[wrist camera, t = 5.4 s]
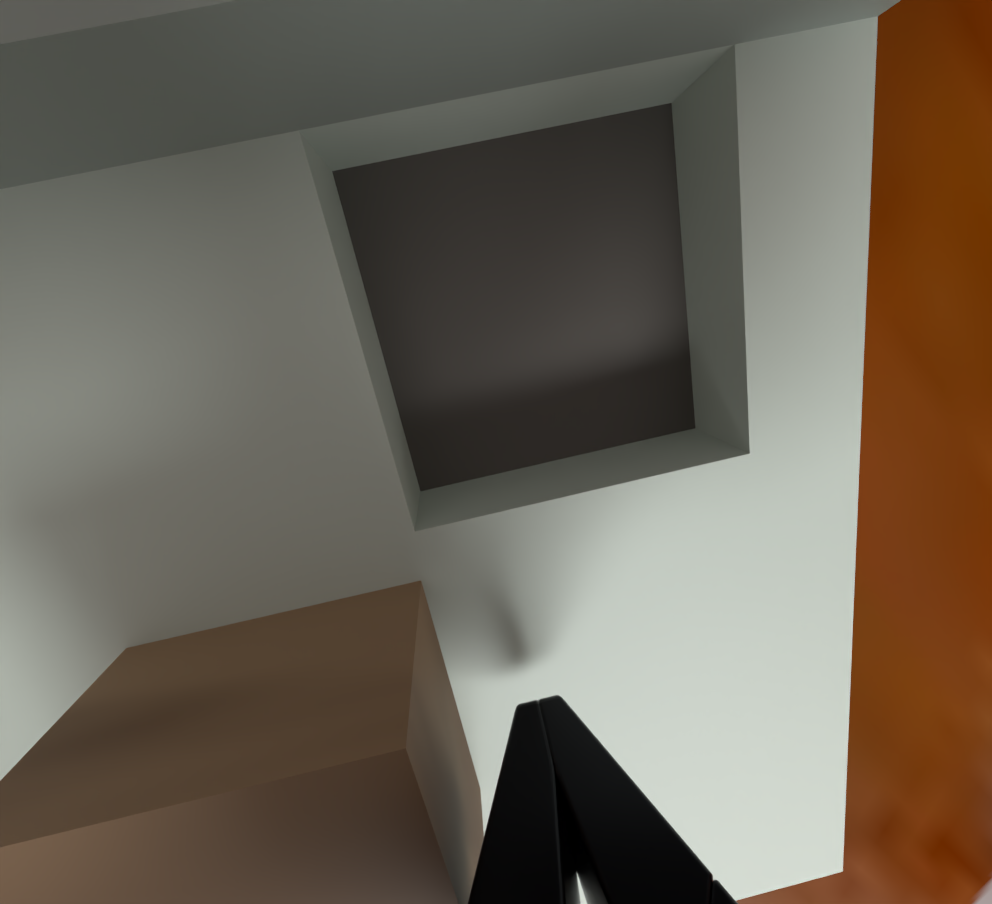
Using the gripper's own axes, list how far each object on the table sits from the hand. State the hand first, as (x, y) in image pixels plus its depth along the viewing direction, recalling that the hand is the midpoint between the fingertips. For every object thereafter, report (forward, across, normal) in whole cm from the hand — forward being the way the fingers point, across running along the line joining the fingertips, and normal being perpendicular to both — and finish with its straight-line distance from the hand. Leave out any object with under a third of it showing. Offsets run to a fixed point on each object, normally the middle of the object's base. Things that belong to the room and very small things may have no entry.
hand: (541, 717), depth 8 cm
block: (+1, +4, 0) cm, 4 cm away
